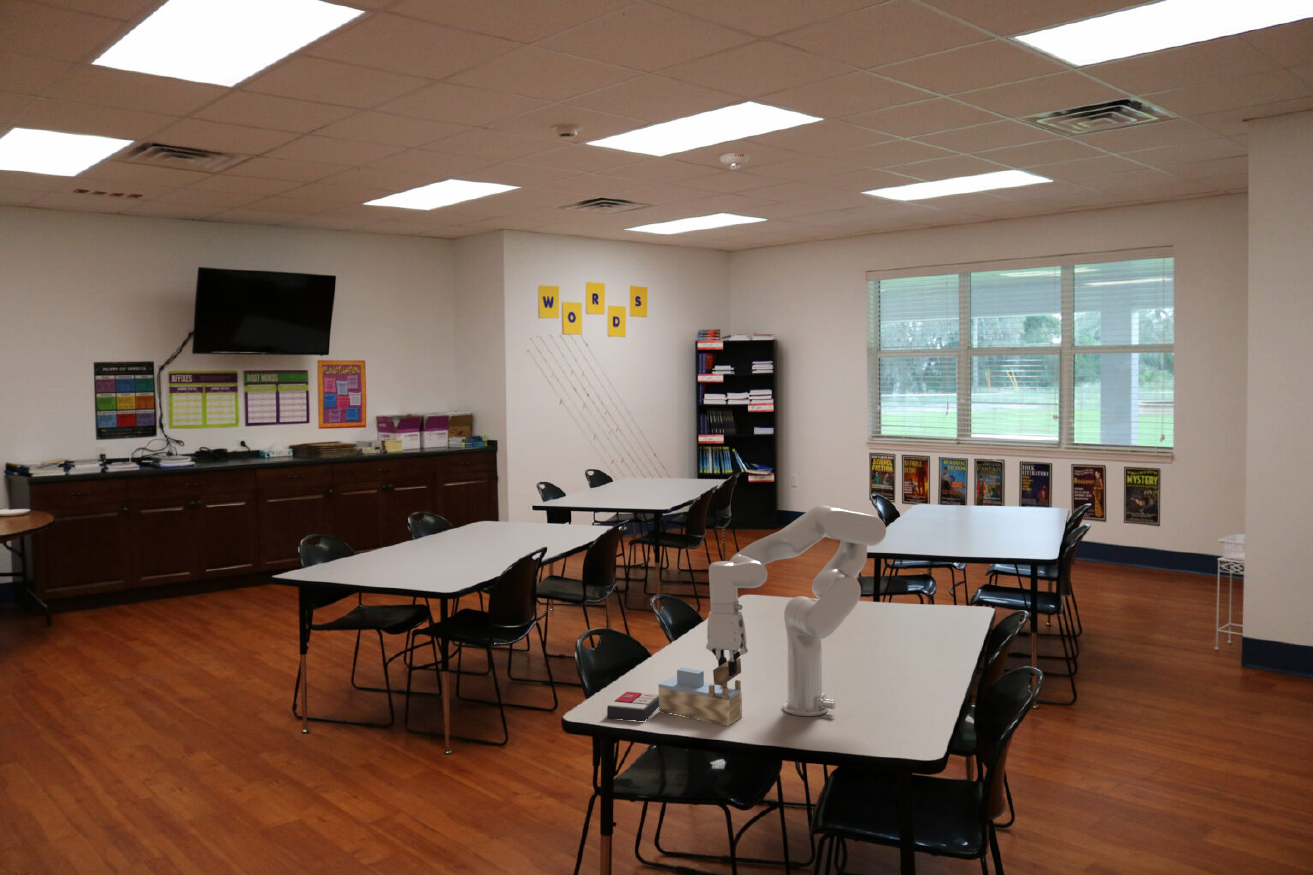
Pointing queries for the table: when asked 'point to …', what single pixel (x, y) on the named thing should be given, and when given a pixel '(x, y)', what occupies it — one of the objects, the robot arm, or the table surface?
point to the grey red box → (633, 706)
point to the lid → (694, 684)
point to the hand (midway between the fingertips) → (728, 673)
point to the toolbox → (703, 705)
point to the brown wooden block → (725, 673)
